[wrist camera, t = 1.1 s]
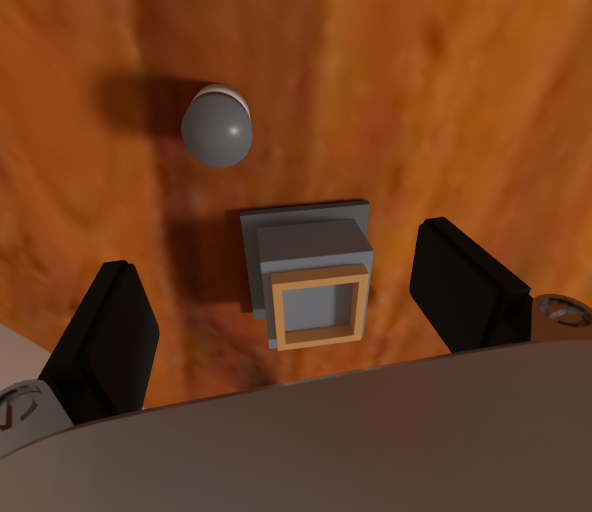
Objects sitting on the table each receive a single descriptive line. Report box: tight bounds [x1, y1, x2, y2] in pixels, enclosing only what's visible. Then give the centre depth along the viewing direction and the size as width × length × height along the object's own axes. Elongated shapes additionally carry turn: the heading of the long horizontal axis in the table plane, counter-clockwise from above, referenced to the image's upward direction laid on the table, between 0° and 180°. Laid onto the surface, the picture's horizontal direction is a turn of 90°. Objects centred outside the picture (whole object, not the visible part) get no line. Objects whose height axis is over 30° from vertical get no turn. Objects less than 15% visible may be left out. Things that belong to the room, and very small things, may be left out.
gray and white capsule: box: [181, 83, 252, 168], centre depth 26 cm, size 5×5×6 cm
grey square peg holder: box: [240, 200, 374, 351], centre depth 35 cm, size 14×13×8 cm
